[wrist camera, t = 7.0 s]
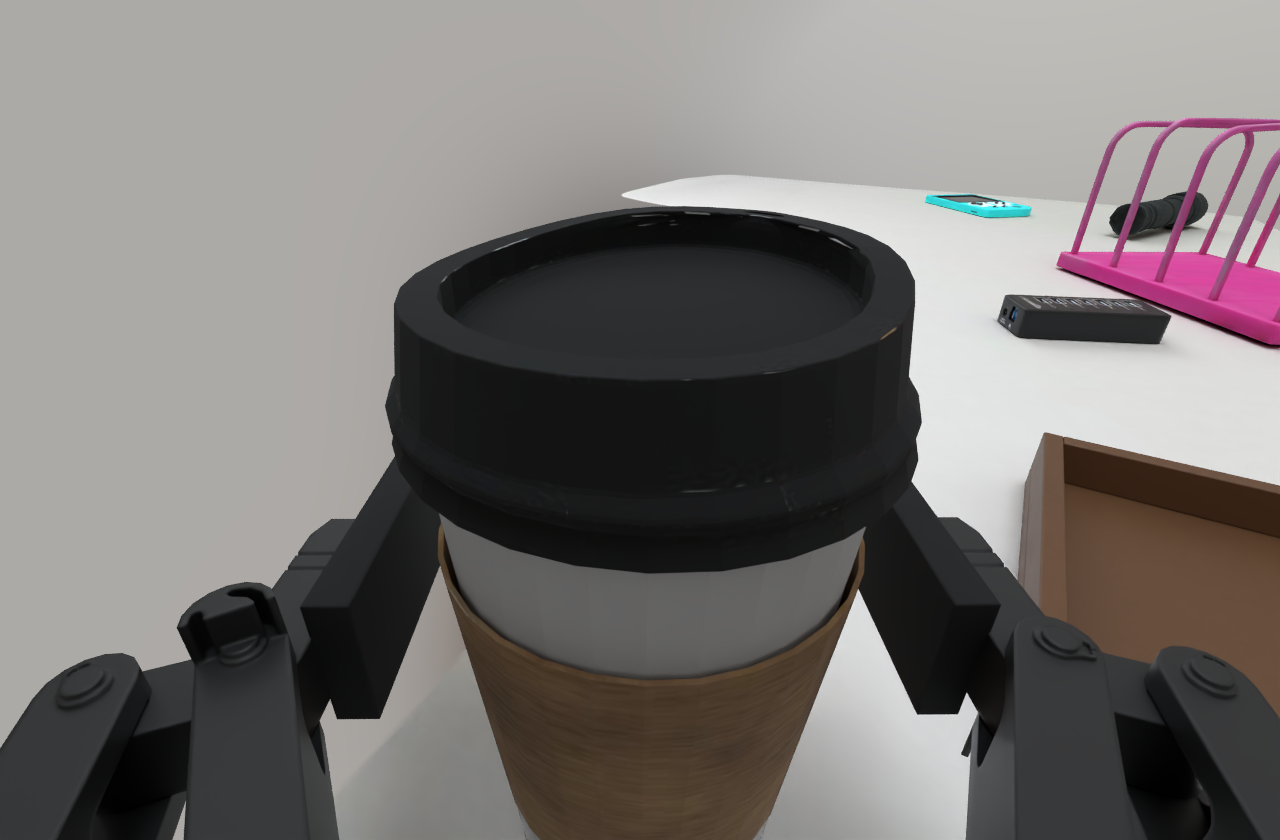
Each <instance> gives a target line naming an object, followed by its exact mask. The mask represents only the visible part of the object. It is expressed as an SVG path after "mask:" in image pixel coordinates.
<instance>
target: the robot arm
mask: <svg viewBox="0 0 1280 840" xmlns="http://www.w3.org/2000/svg"><path fill="white" fill-rule="evenodd" d="M440 525H441V519H440V515H439V513H438V512H437V511H436V510H434V509H433V508H431V507H430V506H429V505H427V504H426V503H425V502H423V501H422V500H421V499H420V498H419V497H418V495H417V494H416V493H415V491H414V490H413V489H412V487H411V486H410V485H409V483H408V482H407V481H406V479H405V478H404V477H403V475H402V474H401V473H400V471H399V468H398V465H397V461H396V457H394V459H393V460H392V462H391V463H390V465H389V467H388V468H387V470H386V471H385V473H384V474H383V476H382V478H381V479H380V481H379V483H378V484H377V486H376V487H375V489H374V490H373V492H372V494H371V495H370V497H369V498H368V500H367V501H366V503H365V505H364V506H363V508H362V509H361V511H360V512H359V514H358V516H357V517H356V519H331V520H330V521H328V522H327V523H326V524H324V525H323V526H322V527H320V528H319V529H318V530H316V531H315V532H314V533H312V534H311V535H310V536H309V538H308V539H307V541H306V542H305V543H304V545H303V546H302V548H301V549H300V551H299V552H298V556H295V558H294V559H293V560H292V562H291V563H290V565H289V566H288V570H286V571H285V572H284V573H283V574H282V576H281V577H280V579H279V580H278V581H277V583H276V584H275V586H274V587H273V588H272V589H271V588H270V587H268V586H266V585H263V584H261V583H251V582H244V583H239V584H233V585H229V586H225V587H223V588H220V589H218V590H216V591H213V592H211V593H209V594H207V595H206V596H204V597H202V598H201V599H199V600H198V601H196V602H195V603H193V604H192V605H191V606H190V607H189V608H188V609H187V611H186V612H185V613H184V614H183V615H182V616H181V619H180V621H179V624H178V626H177V629H178V631H179V634H180V636H181V638H182V640H183V642H184V644H185V646H186V648H187V650H188V653H189V655H190V657H191V660H188V661H184V662H180V663H176V664H172V665H167V666H164V667H160V668H155V669H151V670H147V671H143V672H142V670H141V668H140V666H139V665H138V663H137V661H136V660H135V658H134V657H132V656H129V655H126V654H123V653H118V654H104V655H101V656H97V657H94V658H91V659H88V660H84V661H82V662H80V663H78V664H76V665H74V666H72V667H70V668H68V669H66V670H64V671H63V672H61V673H60V674H59V675H57V676H56V677H55V678H53V679H52V680H51V681H49V682H48V683H47V684H45V686H44V687H43V688H42V689H41V690H40V691H39V692H38V693H37V695H36V696H35V697H34V698H33V699H32V701H31V702H30V704H29V705H28V707H27V709H26V710H25V711H24V713H23V714H22V716H21V717H20V719H19V721H18V722H17V724H16V725H15V727H14V728H13V730H12V731H11V733H10V734H9V736H8V738H7V739H6V740H5V742H4V743H3V745H2V747H1V748H0V840H172V839H173V836H174V833H175V830H176V827H177V825H178V822H179V819H180V816H181V813H182V810H183V807H184V804H185V801H186V811H185V827H184V840H339V834H338V827H337V820H336V813H335V806H334V799H333V793H332V786H331V779H330V772H329V765H328V758H327V751H326V744H325V737H324V733H323V729H322V727H321V724H320V718H321V716H322V714H323V712H324V710H325V708H326V706H327V704H328V702H329V700H330V699H331V702H332V705H333V708H334V711H335V714H336V717H337V719H380V717H381V714H382V712H383V709H384V707H385V704H386V702H387V699H388V697H389V694H390V691H391V689H392V686H393V684H394V681H395V679H396V676H397V674H398V671H399V668H400V666H401V663H402V661H403V658H404V656H405V653H406V651H407V648H408V645H409V643H410V640H411V638H412V635H413V633H414V630H415V628H416V625H417V623H418V620H419V617H420V615H421V612H422V610H423V607H424V605H425V602H426V600H427V597H428V595H429V592H430V589H431V587H432V584H433V582H434V579H435V577H436V574H437V572H438V569H439V566H440V563H439V559H438V535H439V527H440ZM863 540H864V543H865V556H864V574H863V577H862V579H861V582H860V585H859V588H858V589H859V591H860V593H861V595H862V597H863V600H864V602H865V604H866V606H867V608H868V610H869V612H870V615H871V617H872V619H873V621H874V623H875V625H876V627H877V630H878V632H879V634H880V636H881V638H882V640H883V642H884V645H885V647H886V649H887V651H888V653H889V655H890V657H891V660H892V662H893V664H894V666H895V668H896V670H897V672H898V675H899V677H900V679H901V681H902V683H903V685H904V687H905V690H906V692H907V694H908V696H909V698H910V700H911V702H912V705H913V707H914V709H915V711H916V713H917V715H919V714H958V713H959V710H960V707H961V705H962V702H963V700H964V697H965V695H966V692H967V693H968V695H969V697H970V699H971V700H972V702H973V704H974V706H975V707H976V709H977V711H978V715H977V717H976V719H975V722H974V724H973V726H972V729H971V731H970V734H969V736H968V738H967V741H966V743H965V745H964V748H963V751H962V753H961V755H964V756H966V757H968V756H969V753H970V751H971V759H970V777H969V794H968V811H967V828H966V840H1280V718H1279V716H1278V715H1277V714H1276V712H1275V711H1274V709H1273V708H1272V707H1271V705H1270V704H1269V703H1268V701H1267V700H1266V699H1265V697H1264V696H1263V695H1262V693H1261V692H1260V691H1259V689H1258V688H1257V687H1256V686H1255V685H1254V684H1253V683H1252V682H1251V681H1250V680H1249V679H1248V678H1247V677H1246V676H1245V675H1244V674H1243V673H1242V672H1240V671H1239V670H1237V669H1236V668H1235V667H1233V666H1232V665H1230V664H1229V663H1227V662H1226V661H1224V660H1222V659H1220V658H1218V657H1215V656H1213V655H1211V654H1209V653H1207V652H1204V651H1201V650H1197V649H1194V648H1190V647H1186V646H1169V647H1166V648H1164V649H1161V650H1160V651H1159V653H1158V655H1157V657H1156V658H1155V660H1154V662H1153V663H1152V664H1149V663H1145V662H1141V661H1137V660H1132V659H1128V658H1124V657H1119V656H1115V655H1111V654H1107V653H1104V652H1101V650H1100V648H1099V647H1098V646H1097V644H1096V643H1095V642H1094V641H1093V640H1092V639H1091V638H1090V637H1089V636H1088V635H1086V634H1085V633H1083V632H1082V631H1080V630H1079V629H1078V628H1076V627H1075V626H1073V625H1071V624H1068V623H1066V622H1064V621H1061V620H1059V619H1057V618H1053V617H1048V616H1045V615H1044V613H1043V612H1042V611H1041V610H1040V608H1039V607H1038V606H1037V605H1036V603H1035V602H1034V601H1033V600H1032V598H1031V597H1030V596H1029V595H1028V593H1027V592H1026V591H1025V590H1024V588H1023V587H1022V586H1021V585H1020V583H1019V582H1018V581H1017V580H1016V578H1015V577H1014V576H1013V575H1012V573H1011V572H1010V571H1009V570H1008V568H1007V567H1004V563H1003V562H1002V561H1001V560H1000V558H999V557H998V556H997V555H996V553H993V552H992V548H991V547H990V546H989V545H988V543H987V542H986V541H985V540H984V538H983V537H982V536H981V535H980V533H979V532H977V531H976V530H975V529H973V528H972V527H970V526H969V525H967V524H966V523H965V522H963V521H962V520H960V519H959V518H958V517H937V516H936V515H935V513H934V512H933V510H932V509H931V508H930V506H929V505H928V504H927V502H926V501H925V499H924V498H923V497H922V495H921V494H920V493H919V491H918V490H917V488H916V487H915V486H914V484H913V483H912V482H911V483H910V486H909V488H908V489H907V491H906V492H905V493H904V494H903V495H902V496H901V497H900V498H899V499H898V501H897V502H896V503H895V504H894V505H893V506H892V507H891V508H890V510H889V511H888V512H887V513H886V514H885V515H884V516H882V517H881V518H879V519H877V520H876V521H874V522H872V523H871V524H869V525H868V526H866V528H865V531H864V534H863Z"/></svg>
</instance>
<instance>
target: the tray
mask: <svg viewBox="0 0 1280 840" xmlns="http://www.w3.org/2000/svg"><path fill="white" fill-rule="evenodd" d="M1018 582H1019V583H1020V585H1021V586H1022V587H1023V588H1024V590H1025V591H1026V592H1027V593H1028V595H1029V596H1030V597H1031V598H1032V600H1033V601H1034V602H1035V603H1036V605H1037V606H1038V607H1039V608H1040V610H1041V611H1042V612H1043V613H1044V615H1045V616H1048V617H1053V618H1057V619H1059V620H1061V621H1064V622H1066V623H1068V624H1071V625H1073V626H1075V627H1076V628H1078V629H1079V630H1080V631H1082V632H1083V633H1085V634H1086V635H1088V636H1089V637H1090V638H1091V639H1092V640H1093V641H1094V642H1095V643H1096V644H1097V646H1098V647H1099V648H1100V650H1101V652H1104V653H1107V654H1111V655H1115V656H1119V657H1124V658H1128V659H1132V660H1137V661H1141V662H1145V663H1149V664H1152V663H1153V662H1154V660H1155V658H1156V657H1157V655H1158V653H1159V651H1160V650H1161V649H1164V648H1166V647H1169V646H1186V647H1190V648H1194V649H1197V650H1201V651H1204V652H1207V653H1209V654H1211V655H1213V656H1215V657H1218V658H1220V659H1222V660H1224V661H1226V662H1227V663H1229V664H1230V665H1232V666H1233V667H1235V668H1236V669H1237V670H1239V671H1240V672H1242V673H1243V674H1244V675H1245V676H1246V677H1247V678H1248V679H1249V680H1250V681H1251V682H1252V683H1253V684H1254V685H1255V686H1256V687H1257V688H1258V689H1259V691H1260V692H1261V693H1262V695H1263V696H1264V697H1265V699H1266V700H1267V701H1268V703H1269V704H1270V705H1271V707H1272V708H1273V709H1274V711H1275V712H1276V714H1277V715H1278V716H1279V718H1280V486H1279V485H1274V484H1270V483H1266V482H1261V481H1257V480H1252V479H1248V478H1244V477H1239V476H1235V475H1230V474H1226V473H1222V472H1217V471H1213V470H1209V469H1204V468H1200V467H1195V466H1191V465H1187V464H1182V463H1178V462H1173V461H1169V460H1165V459H1160V458H1156V457H1151V456H1147V455H1143V454H1138V453H1134V452H1130V451H1125V450H1121V449H1116V448H1112V447H1108V446H1103V445H1099V444H1094V443H1090V442H1086V441H1081V440H1077V439H1072V438H1068V437H1064V438H1063V437H1062V436H1059V435H1054V434H1050V433H1044V434H1043V437H1042V439H1041V442H1040V445H1039V447H1038V450H1037V453H1036V455H1035V458H1034V461H1033V463H1032V466H1031V469H1030V472H1029V474H1028V477H1027V480H1026V482H1025V492H1024V506H1023V519H1022V533H1021V547H1020V560H1019V574H1018Z"/></svg>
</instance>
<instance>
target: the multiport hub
mask: <svg viewBox="0 0 1280 840" xmlns="http://www.w3.org/2000/svg"><path fill="white" fill-rule="evenodd" d="M1170 319H1171V315H1169V314H1167V313H1165V312H1163V311H1161V310H1159V309H1156V308H1154V307H1152V306H1150V305H1148V304H1146V303H1144V302H1142V301H1139V300H1130V299H1105V298H1080V297H1055V296H1031V295H1005V298H1004V301H1003V304H1002V308H1001V311H1000V314H999V318H998V322H999V323H1001V324H1002V325H1003V326H1004V327H1006V328H1007V329H1008V330H1010V331H1011V332H1012V333H1013V334H1015V335H1016V336H1018V337H1022V338H1039V339H1062V340H1084V341H1106V342H1128V343H1150V344H1159V343H1160V341H1161V339H1162V337H1163V334H1164V332H1165V330H1166V328H1167V325H1168V323H1169V321H1170Z"/></svg>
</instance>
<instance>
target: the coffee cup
mask: <svg viewBox="0 0 1280 840" xmlns="http://www.w3.org/2000/svg"><path fill="white" fill-rule="evenodd" d="M914 308H915V280H914V278H913V276H912V274H911V272H910V270H909V268H908V266H907V264H906V262H905V261H904V260H903V259H902V258H901V257H900V256H899V255H898V254H897V253H896V252H895V251H894V250H893V249H892V248H890V247H889V246H888V245H886V244H884V243H882V242H880V241H878V240H876V239H874V238H872V237H870V236H869V235H866V234H863V233H860V232H857V231H854V230H851V229H849V228H846V227H842V226H838V225H834V224H830V223H827V222H823V221H818V220H813V219H808V218H804V217H799V216H793V215H788V214H782V213H776V212H769V211H758V210H745V209H730V208H715V207H689V206H672V207H645V208H632V209H622V210H616V211H609V212H602V213H595V214H590V215H585V216H581V217H576V218H571V219H566V220H562V221H557V222H553V223H550V224H546V225H542V226H538V227H534V228H530V229H527V230H523V231H520V232H517V233H513V234H510V235H507V236H504V237H501V238H497V239H494V240H491V241H488V242H485V243H482V244H479V245H476V246H474V247H471V248H468V249H465V250H463V251H460V252H458V253H455V254H453V255H451V256H448V257H446V258H443V259H441V260H439V261H437V262H435V263H433V264H431V265H430V266H428V267H426V268H424V269H423V270H421V271H419V272H417V273H416V274H414V275H413V276H412V277H411V278H410V279H409V280H408V281H407V282H406V283H405V284H404V285H402V286H401V287H400V289H399V292H398V295H397V297H396V300H395V303H394V356H395V376H394V377H393V379H392V381H391V385H390V389H389V393H388V397H387V400H386V404H385V408H386V412H387V416H388V420H389V424H390V428H391V432H392V435H393V440H392V446H393V450H394V453H395V457H396V461H397V465H398V468H399V471H400V473H401V474H402V475H403V477H404V478H405V479H406V481H407V482H408V483H409V485H410V486H411V487H412V489H413V490H414V491H415V493H416V494H417V495H418V497H419V498H420V499H421V500H422V501H423V502H425V503H426V504H427V505H429V506H430V507H431V508H433V509H434V510H436V511H437V512H438V513H439V515H440V519H441V525H440V527H439V535H438V559H439V563H440V566H441V569H442V572H443V576H444V579H445V583H446V586H447V589H448V592H449V595H450V598H451V602H452V605H453V608H454V611H455V614H456V618H457V621H458V624H459V627H460V630H461V633H462V637H463V640H464V643H465V646H466V649H467V652H468V655H469V659H470V662H471V665H472V668H473V671H474V674H475V677H476V681H477V684H478V687H479V690H480V693H481V696H482V700H483V703H484V706H485V709H486V712H487V715H488V718H489V722H490V725H491V728H492V731H493V734H494V737H495V740H496V744H497V747H498V750H499V753H500V756H501V759H502V763H503V766H504V769H505V772H506V775H507V778H508V781H509V785H510V788H511V791H512V794H513V797H514V800H515V803H516V805H517V807H518V810H519V814H520V818H521V822H522V825H523V829H524V833H525V837H526V840H761V837H762V834H763V831H764V828H765V825H766V822H767V819H768V817H769V816H770V814H771V811H772V809H773V806H774V804H775V801H776V799H777V796H778V794H779V791H780V788H781V786H782V783H783V781H784V778H785V776H786V773H787V770H788V768H789V765H790V763H791V760H792V758H793V755H794V752H795V750H796V747H797V745H798V742H799V740H800V737H801V734H802V732H803V729H804V727H805V724H806V722H807V719H808V717H809V714H810V711H811V709H812V706H813V704H814V701H815V699H816V696H817V693H818V691H819V688H820V686H821V683H822V681H823V678H824V675H825V673H826V670H827V668H828V665H829V663H830V660H831V657H832V655H833V652H834V650H835V647H836V645H837V642H838V640H839V637H840V634H841V632H842V629H843V627H844V624H845V622H846V619H847V616H848V614H849V611H850V609H851V606H852V604H853V601H854V598H855V596H856V593H857V590H858V588H859V585H860V582H861V579H862V577H863V574H864V556H865V543H864V540H863V534H864V531H865V528H866V526H868V525H869V524H871V523H872V522H874V521H876V520H877V519H879V518H881V517H882V516H884V515H885V514H886V513H887V512H888V511H889V510H890V508H891V507H892V506H893V505H894V504H895V503H896V502H897V501H898V499H899V498H900V497H901V496H902V495H903V494H904V493H905V492H906V491H907V489H908V488H909V486H910V483H911V480H912V477H913V474H914V471H915V468H916V466H917V463H918V453H917V444H916V437H917V435H918V432H919V429H920V426H921V423H922V421H921V411H920V403H919V395H918V392H917V390H916V389H915V387H914V385H913V383H912V382H911V380H910V378H909V367H910V355H911V344H912V332H913V320H914Z"/></svg>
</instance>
